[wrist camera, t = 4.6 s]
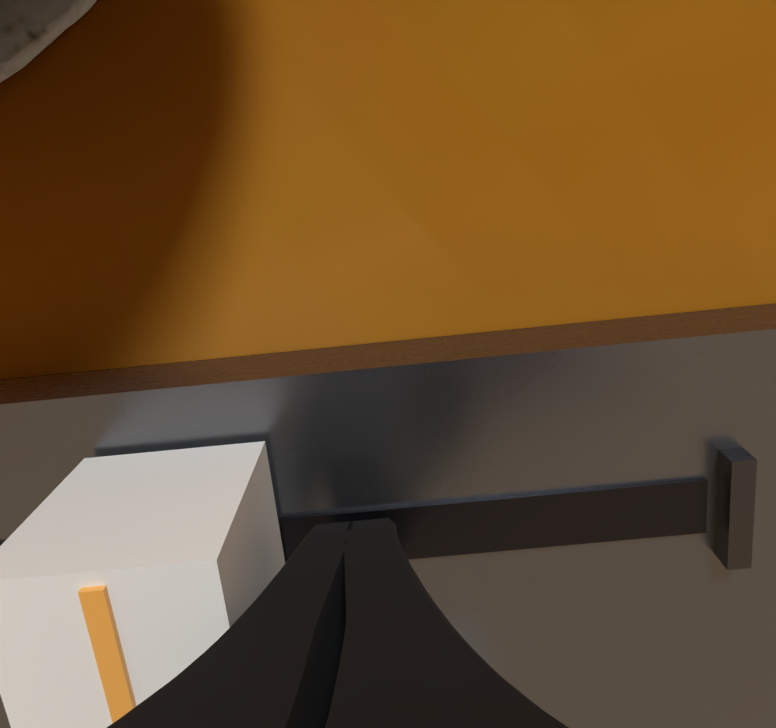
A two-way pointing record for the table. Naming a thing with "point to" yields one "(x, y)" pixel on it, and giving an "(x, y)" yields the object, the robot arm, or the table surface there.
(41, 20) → the ceramic mug
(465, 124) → the table surface
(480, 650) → the console
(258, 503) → the fader
